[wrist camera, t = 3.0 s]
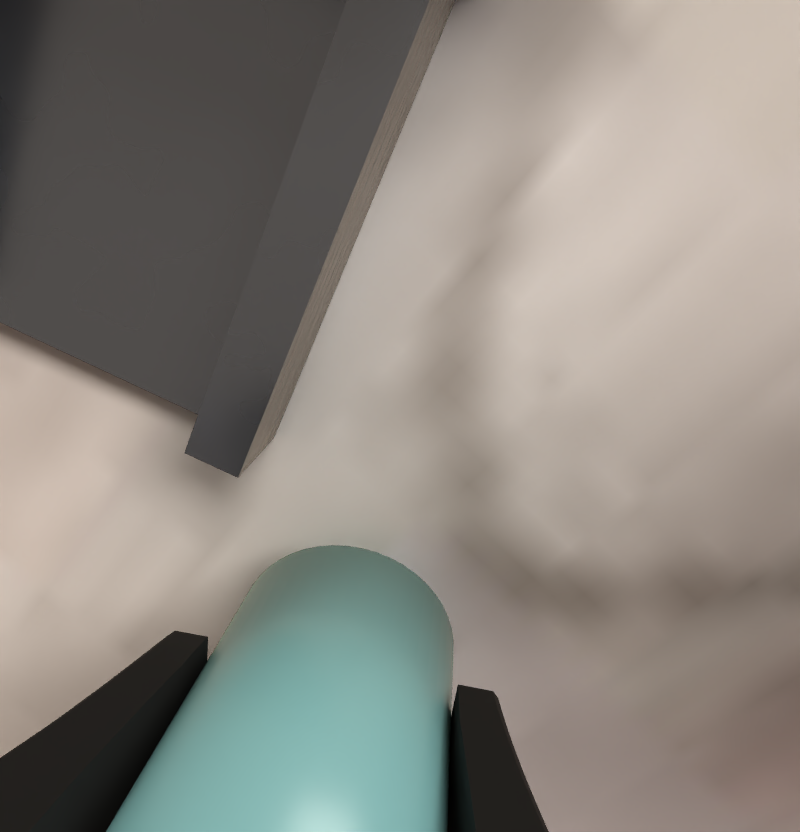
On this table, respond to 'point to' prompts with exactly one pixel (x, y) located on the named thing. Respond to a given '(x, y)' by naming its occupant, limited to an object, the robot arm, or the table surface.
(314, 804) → the teal rounded cylinder
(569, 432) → the table surface
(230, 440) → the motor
